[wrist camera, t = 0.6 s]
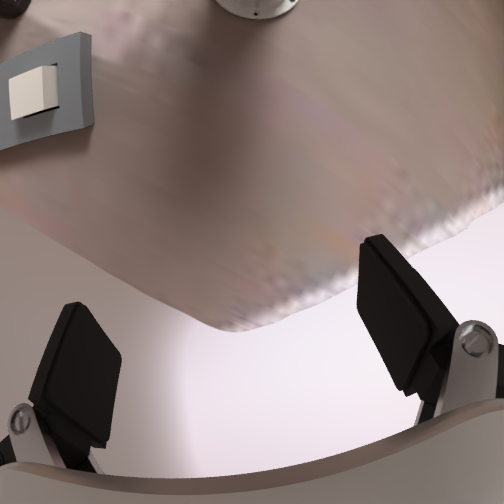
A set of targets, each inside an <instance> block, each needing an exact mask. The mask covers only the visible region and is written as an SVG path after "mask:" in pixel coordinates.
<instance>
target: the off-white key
mask: <svg viewBox="0 0 504 504" xmlns="http://www.w3.org/2000/svg"><path fill="white" fill-rule="evenodd" d="M9 97H10V110H11V120H14V119H17V118H20V117H23V116H26V115H29V114H32V113H35V112H39V111H42V110H45V109H48V108H52V107H56V106H59V94H58V66H40V67H37V68H35V69H32V70H30V71H27V72H25V73H22V74H20V75H18V76H15V77H13V78H11V79H9Z"/></svg>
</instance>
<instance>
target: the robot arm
mask: <svg viewBox="0 0 504 504" xmlns="http://www.w3.org/2000/svg"><path fill="white" fill-rule="evenodd" d="M291 1H292V2H290V1H289V0H216V2H217V3H218V4H219V5H220V6H221V7H222V8H224V9H225V10H226V11H228V12H230V13H232V14H234V15H236V16H239V17H243V18H247V19H256V20H261V19H270V18H274V17H277V16H280V15H282V14H284V13H286V12H287V11H289V10H290V9H291V8H293V7H294V6H295V5H296V4H297V2H298V1H299V0H291ZM254 13H256V14H257V16H255V15H254ZM357 309H358V313H359V315H360V317H361V319H362V320H363V322H364V324H365V326H366V328H367V330H368V332H369V334H370V336H371V338H372V339H373V341H374V343H375V345H376V347H377V349H378V351H379V353H380V355H381V357H382V359H383V361H384V363H385V365H386V367H387V369H388V371H389V373H390V375H391V377H392V379H393V382H394V384H395V386H396V388H397V389H398V390H399V391H402V390H403V392H404V394H405V396H406V397H407V396H410V395H412V394H414V393H416V392H417V393H418V395H419V397H420V400H422V401H421V404H420V408H419V411H418V414H417V417H416V421H415V424H414V427H411V428H409V429H407V430H405V431H402V432H400V433H397V434H395V435H392V436H390V437H387V438H385V439H382V440H379V441H376V442H374V443H371V444H368V445H365V446H362V447H359V448H356V449H353V450H350V451H347V452H344V453H341V454H337V455H334V456H330V457H326V458H323V459H319V460H315V461H311V462H307V463H303V464H298V465H294V466H289V467H284V468H278V469H273V470H267V471H261V472H254V473H247V474H239V475H231V476H219V477H206V478H180V479H179V478H176V479H166V478H138V477H124V476H114V475H105V474H104V472H103V471H102V469H101V468H100V466H99V464H98V463H97V461H96V459H95V458H94V456H93V454H92V453H91V451H90V446H92V447H94V448H104V449H105V448H106V442H107V441H108V440H109V437H110V431H111V422H112V415H113V408H114V402H115V396H116V390H117V384H118V378H119V373H120V367H121V362H122V358H121V354H120V352H119V351H118V350H117V348H116V347H115V346H114V344H113V343H112V342H111V341H110V339H109V338H108V336H107V335H106V334H105V332H104V331H103V330H102V328H101V327H100V325H99V324H98V322H97V321H96V319H95V318H94V317H93V315H92V314H91V312H90V311H89V309H88V308H87V307H86V306H85V305H83V304H82V303H81V302H74V303H69V304H66V305H65V306H64V307H63V309H62V312H61V314H60V316H59V318H58V321H57V323H56V325H55V328H54V330H53V332H52V334H51V337H50V339H49V342H48V344H47V347H46V349H45V351H44V354H43V357H42V359H41V362H40V365H39V367H38V370H37V373H36V376H35V379H34V382H33V385H32V388H31V391H30V394H29V397H28V399H29V400H30V401H31V402H32V403H33V404H34V406H33V407H31V406H30V405H29V404H27V403H22V404H19V405H17V406H16V407H15V408H14V409H13V410H12V412H11V414H10V416H9V419H8V432H9V435H8V436H7V437H5V438H4V439H3V440H2V441H1V442H0V504H504V345H501V344H498V339H497V336H496V334H495V332H494V331H493V330H492V329H491V327H490V326H488V325H487V324H485V323H483V322H480V321H476V320H470V321H466V322H464V323H462V324H461V325H459V324H458V322H457V321H456V319H455V318H454V317H453V316H452V314H451V313H450V312H449V310H448V309H447V308H446V306H445V305H444V304H443V302H442V301H441V300H440V299H439V297H438V296H437V295H436V294H435V292H434V291H433V290H432V289H431V288H430V286H429V285H428V284H427V283H426V281H425V280H424V279H423V278H422V277H421V275H420V274H419V273H418V272H417V271H416V270H415V269H414V268H412V267H411V265H410V264H409V263H408V262H407V260H406V259H405V258H404V257H403V256H402V255H401V254H400V252H399V251H398V250H397V249H396V248H395V247H394V246H393V245H392V244H391V242H390V241H389V240H388V239H387V238H386V237H385V236H384V235H383V234H379V235H375V236H371V237H366V238H365V240H364V243H361V244H360V254H359V276H358V292H357Z"/></svg>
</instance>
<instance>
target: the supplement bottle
mask: <svg viewBox="0 0 504 504" xmlns="http://www.w3.org/2000/svg"><path fill="white" fill-rule="evenodd" d="M30 1H31V0H0V19H6V20H10V19H13V18H15V17H17V16H19V15H20V14H21V13H22V12H23V11H24V10H25V9H26V7H27V6H28V4H29V3H30Z"/></svg>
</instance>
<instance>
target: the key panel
mask: <svg viewBox="0 0 504 504" xmlns="http://www.w3.org/2000/svg"><path fill="white" fill-rule="evenodd" d="M91 36H92V35H90V34H87V33H83V32H78V33H75V34H71V35H68V36H65V37H62V38H59V39H56V40H54V41H51V42H48V43H45V44H43V45H40V46H38V47H35V48H33V49H31V50H28V51H26V52H24V53H21V54H19V55H17V56H15V57H13V58H10V59H8V60H6V61H4V62H2V63H0V150H2V149H5V148H8V147H12V146H15V145H18V144H21V143H25V142H28V141H32V140H35V139H39V138H43V137H46V136H50V135H54V134H59V133H63V132H67V131H72V130H76V129H81V128H85V127H87V126H89V125H92V124H94V113H93V99H92V77H91ZM40 66H58V94H59V108H58V109H54V110H51V111H47V112H44V113H40V114H37V112H35V113H32V114H29V115H26V116H23V117H20V118H17V119H14V120H11V110H10V97H9V79H11V78H13V77H15V76H18V75H20V74H22V73H25V72H27V71H30V70H32V69H35V68H37V67H40Z"/></svg>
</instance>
